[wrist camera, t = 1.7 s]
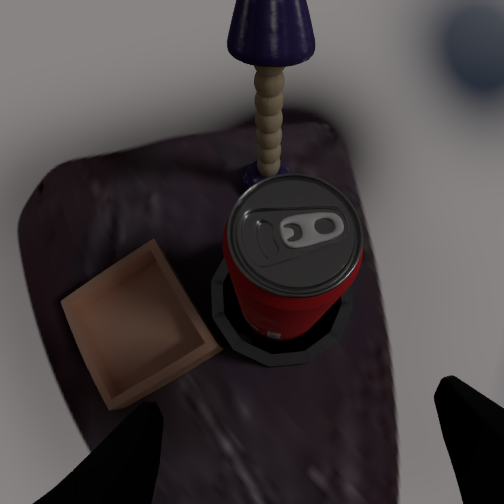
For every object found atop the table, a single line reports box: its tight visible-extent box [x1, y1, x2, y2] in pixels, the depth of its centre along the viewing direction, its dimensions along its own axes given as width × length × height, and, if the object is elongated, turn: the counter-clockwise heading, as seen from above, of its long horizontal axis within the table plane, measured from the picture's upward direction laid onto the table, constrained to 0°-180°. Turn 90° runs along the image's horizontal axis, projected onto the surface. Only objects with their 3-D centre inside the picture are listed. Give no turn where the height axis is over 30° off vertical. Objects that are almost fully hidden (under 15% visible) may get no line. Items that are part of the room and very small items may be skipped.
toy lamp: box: [227, 0, 315, 192], centre depth 18 cm, size 5×5×17 cm
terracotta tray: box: [61, 239, 224, 411], centre depth 20 cm, size 9×9×2 cm
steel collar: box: [211, 258, 353, 368], centre depth 20 cm, size 8×8×4 cm
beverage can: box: [223, 173, 363, 342], centre depth 16 cm, size 5×5×12 cm
